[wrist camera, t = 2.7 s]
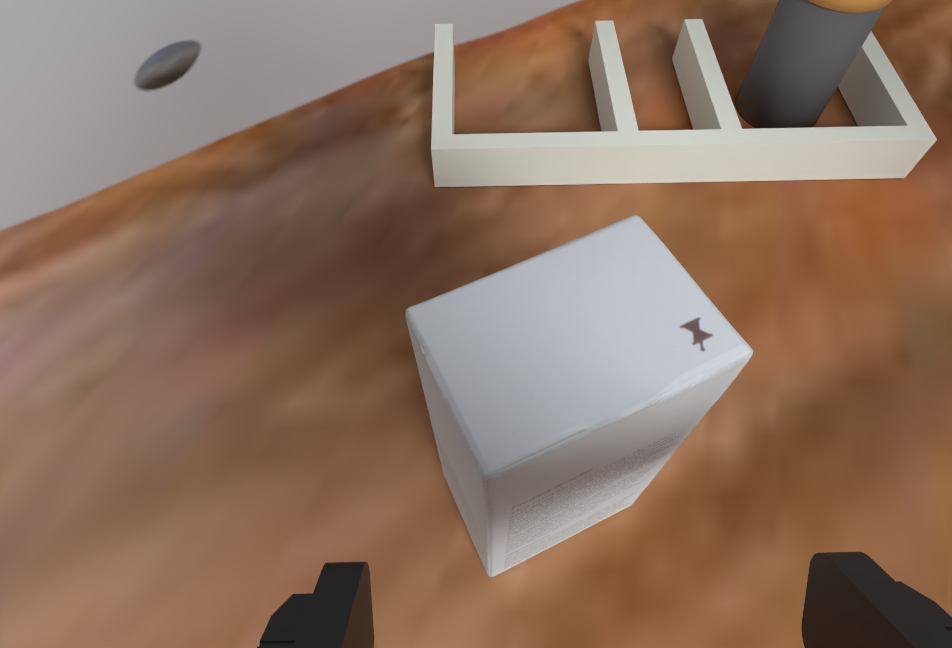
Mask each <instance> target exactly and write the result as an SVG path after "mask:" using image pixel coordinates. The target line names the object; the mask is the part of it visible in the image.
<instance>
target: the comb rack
mask: <svg viewBox="0 0 952 648" xmlns="http://www.w3.org/2000/svg"><path fill="white" fill-rule="evenodd" d="M434 42H435V43H434V73H433V105H432V136H431V154H432V164H433V174H434V185H435V187H466V186H517V185H569V184H621V183H673V182H724V181H776V180H828V179H880V178H905V177H906V176H907V175H908V173H909V172H910V171H911V170H912V169H913V167H914V166H915V165H916V164H917V163H918V162H919V160H920V159H921V158H922V157H923V156H924V154H925V153H926V152H927V151H928V150H929V149H930V147H931V146H932V145H933V144H934V143H935V141H936V140H937V139H936V137H935V135H934V134H933V132H932V131H931V129H930V127H929V126H928V124H927V122H926V121H925V119H924V117H923V116H922V114H921V112H920V111H919V109H918V107H917V106H916V104H915V102H914V101H913V99H912V97H911V96H910V94H909V92H908V91H907V89H906V88H905V86H904V84H903V83H902V81H901V79H900V78H899V76H898V74H897V73H896V71H895V69H894V68H893V66H892V64H891V63H890V61H889V59H888V58H887V56H886V54H885V53H884V51H883V49H882V48H881V46H880V45H879V43H878V41H877V40H876V38H875V36H874V35H873V33H872V31H871V32H870V34H869V35H868V37H867V39H866V40H865V42H864V44H863V45H862V47H861V49H860V50H859V52H858V53H857V55H856V57H855V58H854V60H853V62H852V63H851V65H850V67H849V68H848V70H847V72H846V73H845V75H844V77H843V78H842V80H841V82H840V83H839V85H838V88H839V90H840V92H841V94H842V96H843V98H844V100H845V102H846V103H847V105H848V107H849V109H850V111H851V113H852V115H853V117H854V119H855V121H856V123H857V125H858V127H812V128H760V129H742V127H741V124H740V122H739V119H738V116H737V114H736V111H735V108H734V105H733V103H732V100H731V97H730V94H729V92H728V89H727V86H726V83H725V81H724V78H723V75H722V72H721V70H720V67H719V64H718V61H717V59H716V56H715V53H714V50H713V48H712V45H711V42H710V39H709V37H708V34H707V31H706V28H705V26H704V23H703V20H702V19H684V22H683V25H682V28H681V31H680V35H679V38H678V41H677V44H676V48H675V51H674V54H673V58H672V61H673V64H674V68H675V71H676V74H677V78H678V81H679V84H680V88H681V91H682V94H683V98H684V101H685V104H686V108H687V111H688V114H689V118H690V121H691V124H692V127H693V130H656V131H639V130H638V126H637V122H636V117H635V113H634V109H633V105H632V100H631V96H630V92H629V87H628V83H627V79H626V74H625V70H624V66H623V61H622V57H621V53H620V48H619V44H618V40H617V35H616V31H615V27H614V23H613V21H595V25H594V31H593V37H592V43H591V49H590V54H589V60H588V62H589V67H590V72H591V78H592V83H593V89H594V94H595V100H596V105H597V110H598V116H599V121H600V127H601V132H553V133H501V134H454V125H455V60H454V38H453V24H435V41H434Z"/></svg>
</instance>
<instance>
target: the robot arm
mask: <svg viewBox="0 0 952 648" xmlns="http://www.w3.org/2000/svg"><path fill="white" fill-rule="evenodd" d="M802 637H803V642H804V646H805V648H952V617H951V616H950V615H949V614H948V613H947V612H945V611H944V610H943V609H942V608H941V607H940V606H939V605H938V604H937V603H936V602H934V601H932V600H931V599H929V598H927V597H926V596H924V595H922V594H921V593H919V592H917V591H916V590H914V589H912V588H911V587H909V586H907V585H905V584H904V583H902V582H900V581H899V582H895V581H894V580H893V579H892V578H891V577H890V576H889V575H888V574H887V573H886V572H885V571H884V570H883V569H882V568H881V567H880V566H879V565H878V564H876V563H875V562H874V561H873V560H872V559H871V558H870V557H869V556H868V555H866V554H864V553H862V552H832V553H816V554H815V555H814V556H813V557H812V559H811V562H810V567H809V575H808V582H807V589H806V596H805V604H804V611H803V618H802ZM257 648H374V628H373V614H372V600H371V586H370V572H369V566H368V563H367V562H336V563H325V565H324V566H323V568H322V571H321V574H320V576H319V579H318V582H317V584H316V587H315V590H314V592H313V594H293V595H292V596H291V597H290V598H289V599H288V600H287V601H286V602H285V603H284V604H283V605H282V606H281V607H280V608H279V609H278V610H277V611H276V612H275V613H274V614H273V615H272V616H271V618H270V620H269V622H268V624H267V627H266V629H265V631H264V633H263V635H262V638H261V640H260V645H259V647H257Z"/></svg>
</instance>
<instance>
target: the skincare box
mask: <svg viewBox="0 0 952 648" xmlns="http://www.w3.org/2000/svg"><path fill="white" fill-rule="evenodd" d="M406 321H407V325H408V330H409V333H410V338H411V342H412V346H413V350H414V354H415V358H416V362H417V366H418V370H419V375H420V379H421V383H422V387H423V391H424V395H425V399H426V403H427V407H428V411H429V416H430V420H431V424H432V428H433V433H434V437H435V441H436V445H437V449H438V453H439V457H440V462H441V466H442V470H443V474H444V477H445V479H446V481H447V484H448V486H449V488H450V491H451V493H452V495H453V497H454V500H455V502H456V504H457V507H458V509H459V511H460V514H461V516H462V518H463V521H464V523H465V525H466V527H467V530H468V532H469V534H470V537H471V539H472V541H473V544H474V546H475V548H476V550H477V553H478V555H479V557H480V559H481V562H482V564H483V566H484V568H485V570H486V572H487V574H488V575H489V576H490V577H494V576H496V575H498V574H500V573H502V572H504V571H506V570H508V569H509V568H511V567H513V566H515V565H517V564H519V563H521V562H523V561H525V560H527V559H529V558H531V557H533V556H535V555H536V554H538V553H540V552H542V551H544V550H546V549H548V548H550V547H552V546H554V545H556V544H558V543H560V542H562V541H564V540H566V539H567V538H569V537H571V536H573V535H575V534H577V533H579V532H581V531H583V530H585V529H587V528H589V527H591V526H592V525H594V524H596V523H598V522H600V521H602V520H604V519H606V518H608V517H610V516H612V515H613V514H615V513H617V512H619V511H621V510H623V509H625V508H627V507H629V506H631V505H632V504H633V503H634V502H635V500H636V499H637V498H638V497H639V495H640V494H641V493H642V492H643V490H644V489H645V488H646V487H647V486H648V485H649V483H650V482H651V481H652V479H653V478H654V477H655V476H656V475H657V473H658V472H659V471H660V469H661V468H662V467H663V466H664V464H665V463H666V462H667V461H668V459H669V458H670V457H671V456H672V455H673V453H674V452H675V451H676V450H677V448H678V447H679V446H680V445H681V443H682V442H683V441H684V440H685V439H686V438H687V437H688V435H689V434H690V433H691V431H692V430H693V429H694V428H695V427H696V425H697V424H698V423H699V422H700V420H701V419H702V418H703V417H704V415H705V414H706V413H707V412H708V410H709V409H710V408H711V407H712V406H713V404H714V403H715V402H716V401H717V400H718V399H719V398H720V396H721V395H722V394H723V393H724V392H725V390H726V389H727V388H728V387H729V385H730V384H731V383H732V382H733V380H734V379H735V378H736V376H737V375H738V374H739V372H740V371H741V370H742V368H743V367H744V366H745V365H746V363H747V362H748V361H749V359H750V358H751V356H752V354H753V350H752V348H751V347H750V346H749V345H748V344H747V343H746V342H745V341H744V339H743V338H742V337H741V336H740V335H739V334H738V332H737V331H736V330H735V329H734V328H733V327H732V326H731V324H730V323H729V322H728V321H727V320H726V319H725V317H724V316H723V315H722V314H721V313H720V311H719V310H718V309H717V308H716V307H715V305H714V304H713V303H712V302H711V301H710V300H709V298H708V297H707V296H706V295H705V294H704V292H703V291H702V290H701V289H700V288H699V286H698V285H697V284H696V283H695V281H694V280H693V279H692V278H691V276H690V275H689V274H688V273H687V272H686V270H685V269H684V268H683V267H682V266H681V264H680V263H679V262H678V261H677V260H676V258H675V257H674V256H673V255H672V253H671V252H670V251H669V250H668V249H667V247H666V246H665V245H664V244H663V242H662V241H661V240H660V239H659V238H658V237H657V236H656V234H655V233H654V232H653V231H652V230H651V229H650V228H649V226H648V225H647V224H646V223H645V222H644V221H643V220H642V219H641V218H640V217H639V216H638V215H634V216H631V217H629V218H626V219H624V220H622V221H619V222H617V223H614V224H612V225H609V226H607V227H604V228H602V229H600V230H597V231H595V232H592V233H590V234H587V235H585V236H582V237H580V238H577V239H575V240H572V241H570V242H568V243H565V244H563V245H560V246H558V247H556V248H553V249H551V250H548V251H546V252H544V253H541V254H539V255H537V256H534V257H532V258H529V259H527V260H525V261H522V262H520V263H518V264H515V265H513V266H510V267H508V268H506V269H503V270H501V271H498V272H496V273H493V274H491V275H488V276H486V277H483V278H481V279H478V280H476V281H473V282H471V283H469V284H466V285H464V286H461V287H459V288H457V289H454V290H452V291H449V292H447V293H445V294H442V295H439V296H437V297H434V298H432V299H429V300H427V301H424V302H422V303H419V304H416V305H413V306H411V307H409V308H407V310H406Z"/></svg>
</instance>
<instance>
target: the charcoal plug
mask: <svg viewBox="0 0 952 648" xmlns="http://www.w3.org/2000/svg"><path fill="white" fill-rule="evenodd" d="M891 1H892V0H779V2H778V5H777V7H776V9H775V12H774V14H773V16H772V18H771V21H770V23H769V25H768V28H767V30H766V32H765V34H764V37H763V39H762V41H761V44H760V46H759V48H758V50H757V53H756V55H755V57H754V60H753V62H752V64H751V66H750V69H749V71H748V73H747V75H746V78H745V80H744V82H743V85H742V87H741V89H740V91H739V94H738V96H737V99H736V107H737V110H738V112H739V114H740V115H741V117H742V118H743V119H744V120H745V121H746V122H748V123H749V124H750V125H752V126H753V127H755V128H757V129H760V128H812V127H813V126H814V125H815V123H816V122H817V120H818V118H819V117H820V115H821V113H822V112H823V110H824V108H825V107H826V105H827V103H828V102H829V100H830V98H831V97H832V95H833V93H834V92H835V90H836V88H837V87H838V85H839V83H840V82H841V80H842V78H843V77H844V75H845V73H846V72H847V70H848V68H849V67H850V65H851V63H852V62H853V60H854V58H855V57H856V55H857V53H858V52H859V50H860V49H861V47H862V45H863V44H864V42H865V40H866V39H867V37H868V35H869V34H870V32H871V30H872V29H873V27H874V25H875V24H876V22H877V20H878V19H879V17H880V15H881V14H882V12H883V10H884V9H885V7H886V6H887V5H888V4H889V3H890V2H891Z"/></svg>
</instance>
